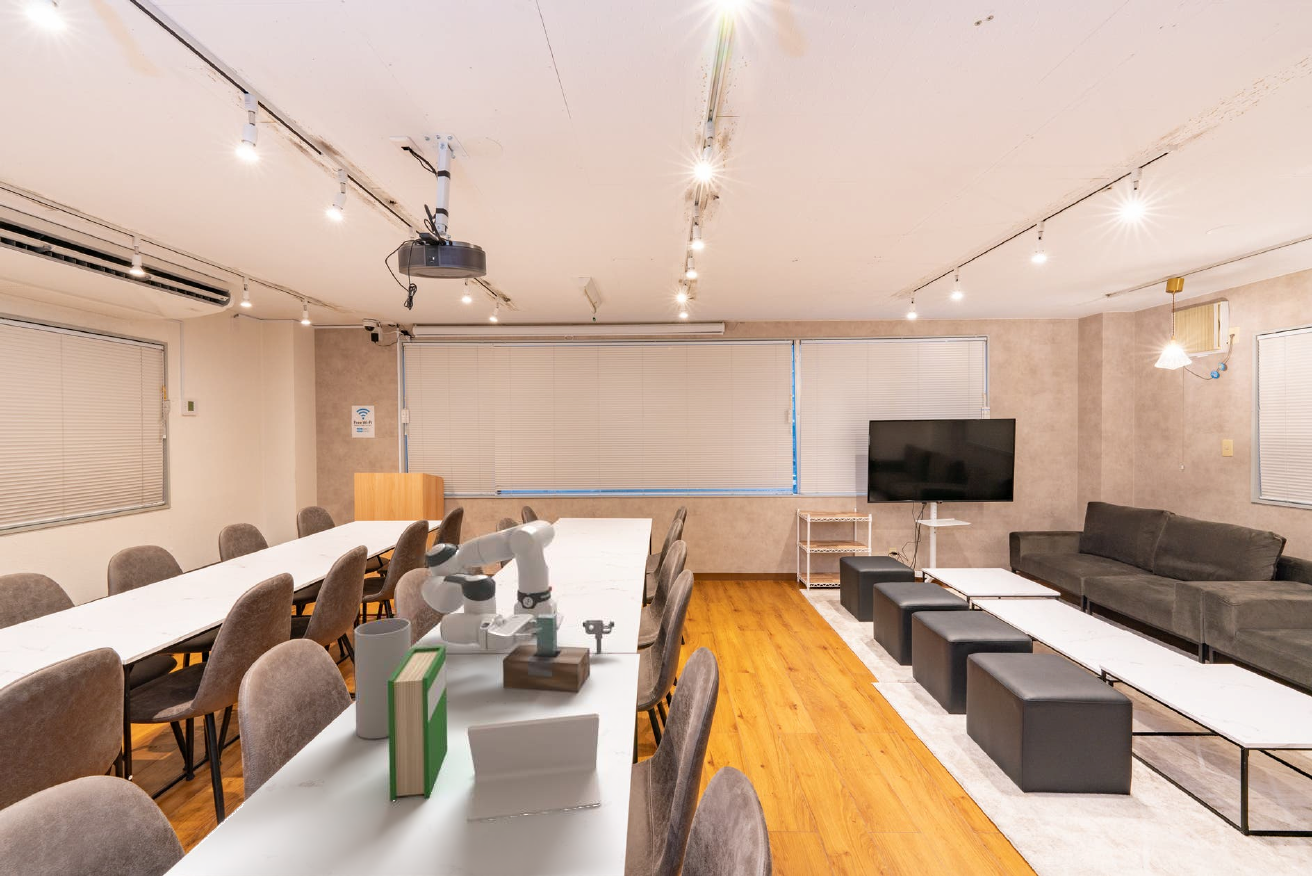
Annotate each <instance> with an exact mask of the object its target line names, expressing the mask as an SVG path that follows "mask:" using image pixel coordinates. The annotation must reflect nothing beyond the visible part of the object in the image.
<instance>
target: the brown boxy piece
mask: <svg viewBox="0 0 1312 876" xmlns="http://www.w3.org/2000/svg"><path fill="white" fill-rule="evenodd" d="M590 652H591V651H590V647H579V646H578V647H577V646H575V647H574V646H560V645H559V646H558V645H557V657H556V658H553V657H537V644H535V645H534V644H519V643H518V645H517V646H516V647H515V648H514V649H513V650H512V651H511V652H510V653H509V654H507V656H505V657H504V658H503V659H502V673H503V674H502V675H503V677H502V680H503V681H502V682H503V688H504V689H515V690H517V689H519V690H531V691H548V692H550V691H551V692H561V693H562V692H565V693H566V692H567V693H579V692H580V690H581V689H582V688H583V686H584V685H585V683H586V681H587V680H588V679H589V677H590V676H591V668H590V667H591V662H590V661H591V660H590V659H591V658H590V656H591V654H590Z"/></svg>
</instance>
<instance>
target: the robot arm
mask: <svg viewBox="0 0 1312 876" xmlns="http://www.w3.org/2000/svg"><path fill="white" fill-rule="evenodd" d="M555 532H556V531H555V528H554V526H553V525H552V523H550V522H549V521H548V520H542V519H540V520H538V519H537V520H532V521H529V522H525V523H523V524H520V525H516V526H513V527H509V528H506V529H503V530H497V531H496V532H492V533H488V534H484V535H480V536H478V537H475V538H474V537H473V538H472V539H470V540H467V541H465V542H463V543H462V544H460V545H458V544H457V543H449V542H441V543H438V544H434V545H433V546H432V547H430V548H429V549H428V550H427V551H426V553H425V555H424V560H425V565H426V566H427V567H428V569H429V571H430V574H431V575H432V576H430V577H428V578H426V579H425V581H424V582H423V584H422V585H421V589H420V590H421V596H422V598H423V600H424V601H425V602H426V603H427V604H428V605H429V607H431V608H433V609H434V611H437V612H439V613H442V614H445V615H443V616H442V618H441V620H440V626H439V629H440V630H439V631H440V637H441V640H442V641H443V642H447V643H451V644H458V645H471V644H476V645H478V646H479V650H480V651H481V652H482V651H483V652H486V651H490V650H492V651H493V650H494V651H495V650H496V651H497V650H501V651H502V650H508V649H510V648H511V647H512V646H514V645H515V644H516V643H518V644H519V643H523V642H531V641H532V640H533V638H534V634H537V620H536V617H537V616H539V615H540V614H548V615H557V630H558V629H560V626H561V623H562V621H563V619H564V614H563V613H562V612H561V613H560V612H558V604H557V602H556V601H555V600H554V599H553V598H552V595H551V594H552V593H551V592H552V590H553V586H552V585H550V577H549V566H548V564H547V563H546V560H545V555H544V549H546V548H547V547H549V545H550V544H551V543H552V542H553V540H554V537H555V534H556V533H555ZM510 559H515V563H516V566H517V575H518V576H517V579H518V582H517V583H518V589H517V593H516V597H517V602H516V603H515V604H514V606H513V614H511V615H509V616H508V617H506V618H504V616H503V615H502V614H501V613H499V614H498V613H497V602H496V601H497V600H496V599H497V598H496V585H497V583H496V580H494V578H492V577H491V576H489V575H488V574H470V573H469V572H468V570H467V569H468V568H477V567H483V566H489V565H492V564H496V563H499V562H503V561H507V560H510ZM462 606H463V612H460V613H459V612H458V613H457V611H458V610H459V609H461V607H462Z"/></svg>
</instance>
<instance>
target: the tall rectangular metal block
mask: <svg viewBox="0 0 1312 876" xmlns="http://www.w3.org/2000/svg"><path fill="white" fill-rule="evenodd" d="M536 620H537V633H536V645H537V657H553V658H556V657H557V646H558V637H557V636H558V635H557V634H558V631H557V630H558V629H557V615H548V614H540V615H539V616H537V617H536Z"/></svg>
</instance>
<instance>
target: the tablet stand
mask: <svg viewBox="0 0 1312 876" xmlns="http://www.w3.org/2000/svg"><path fill="white" fill-rule="evenodd" d="M599 724H600V715H599V713H589V714H579V715H568V716H556V717H548V718H538V719H536V718H535V719H528V720H519V721H518V720H517V721H505V722H498V723H489V724H488V723H487V724H485V723H484V724H477V725H470V726H468V727H467V736H468V737H467V738H468V742H469V743H468V744H469V749H470V755H471V759H472V764H473V770H474V777H475V779H474V780H475V781H474V786H473V791H472V795H471V799H470V804H469V805H470V806H469V808H468V815H467V822H468V821H469V822H468V823H478V822H484V821H483V820H486V821H491V820H490V819H494V820H498V819H497V818H501V819H507V818H506V817H509V818H512V817H511V816H517V817H521V816H520V815H524V814H533V815H538V814H537V813H541V814H543V813H542V812H549V813H552V812H551V811H557V812H562V811H563V810H565V809H573V810H575V809H574V808H579V807H587V806H593V805H599V804H600V802H601V803H602V799H601V791H600V784H599V777H598V770H597V769H598V768H597V759H598V758H597V757H598V756H597V755H598V744H599V743H598V742H599V730H600V729H599V728H600V725H599ZM565 811H566V810H565ZM474 821H476V822H474ZM477 821H478V822H477Z"/></svg>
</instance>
